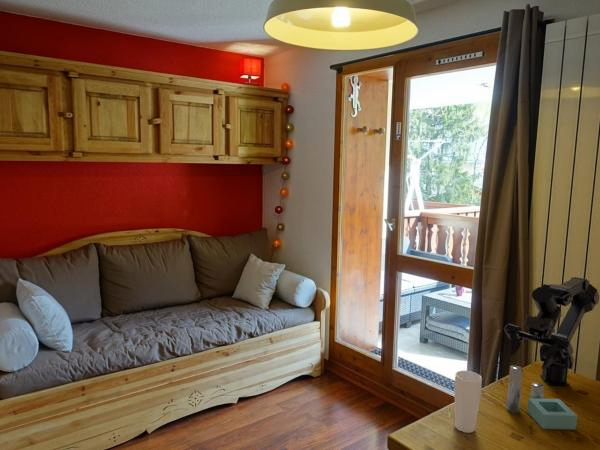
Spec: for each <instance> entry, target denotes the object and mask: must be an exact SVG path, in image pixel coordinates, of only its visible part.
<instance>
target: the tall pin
mask: <svg viewBox="0 0 600 450" xmlns="http://www.w3.org/2000/svg"><path fill="white" fill-rule="evenodd" d="M523 371H524V368H523V367H522V366H519V365H513V364H511V365H510V366H509V374H508V375H509V376H508V387H507V398H506V407H505V409H506V411H507V412H509V413H512V414H518V413H520V403H521V394H522V383H523Z"/></svg>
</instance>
